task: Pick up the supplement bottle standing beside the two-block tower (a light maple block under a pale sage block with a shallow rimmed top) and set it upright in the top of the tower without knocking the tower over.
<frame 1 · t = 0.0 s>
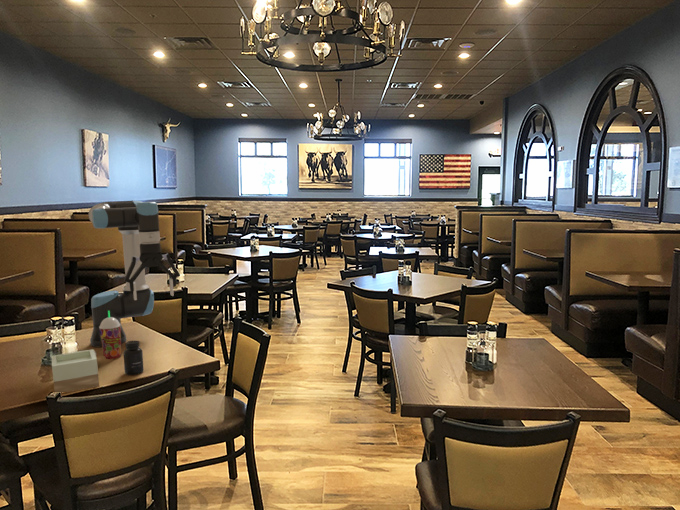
hand: (154, 297, 201), 28 cm above the table, tool pointing down, fingers open, 13 cm apart
supplement bottle: (134, 373, 199), on the table
tower base block: (76, 385, 189), on the table, touching tower top block
tower top block: (75, 372, 188), point 5 cm above the table, touching tower base block
ramekin: (82, 367, 207), on the table
smoothie: (112, 357, 218), on the table
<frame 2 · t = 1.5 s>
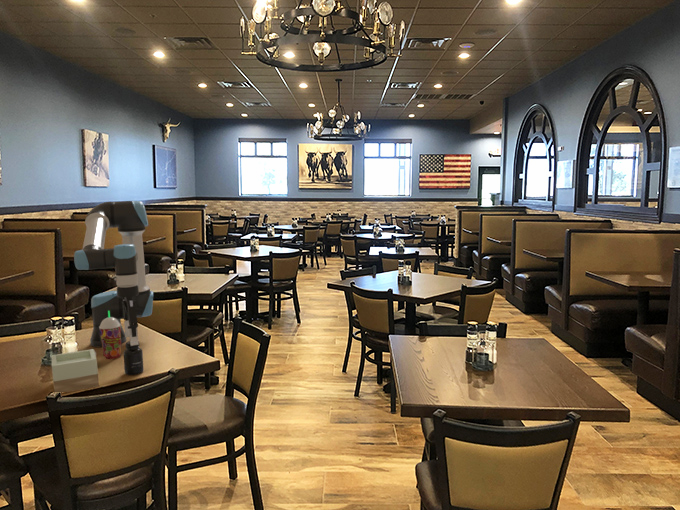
hand: (131, 340, 197), 13 cm above the table, tool pointing down, fingers open, 13 cm apart
nothing on the table moved.
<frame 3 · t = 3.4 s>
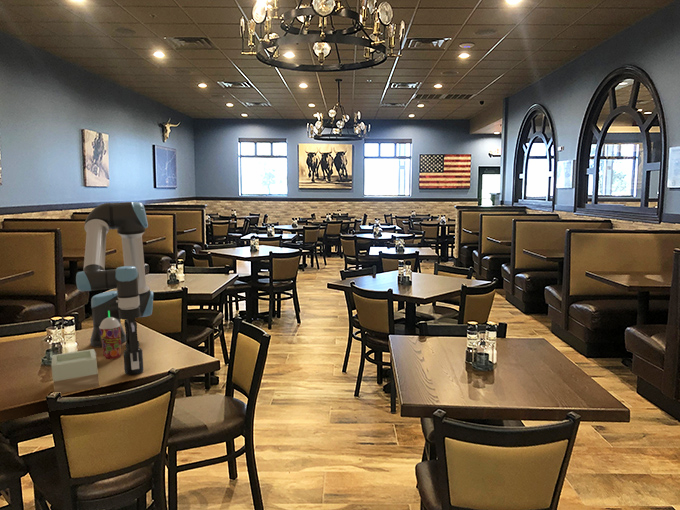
hand: (133, 366, 199), 3 cm above the table, tool pointing down, fingers closed on supplement bottle, 7 cm apart
supplement bottle: (134, 373, 199), on the table, touching gripper
tower base block: (76, 385, 189), on the table
tower top block: (75, 371, 188), point 5 cm above the table
everything else where it was.
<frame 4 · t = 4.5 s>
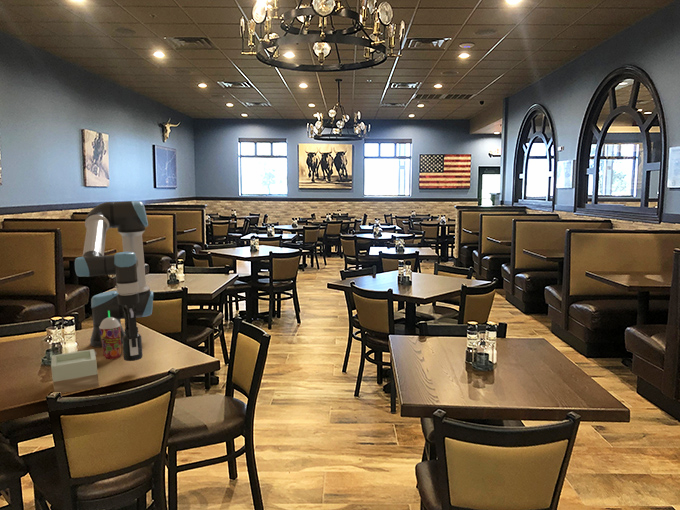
hand: (132, 352, 199), 8 cm above the table, tool pointing down, fingers closed on supplement bottle, 7 cm apart
supplement bottle: (133, 359, 199), point 5 cm above the table, touching gripper
tower base block: (76, 385, 189), on the table, touching tower top block
tower top block: (75, 372, 188), point 5 cm above the table, touching tower base block
everything else where it was.
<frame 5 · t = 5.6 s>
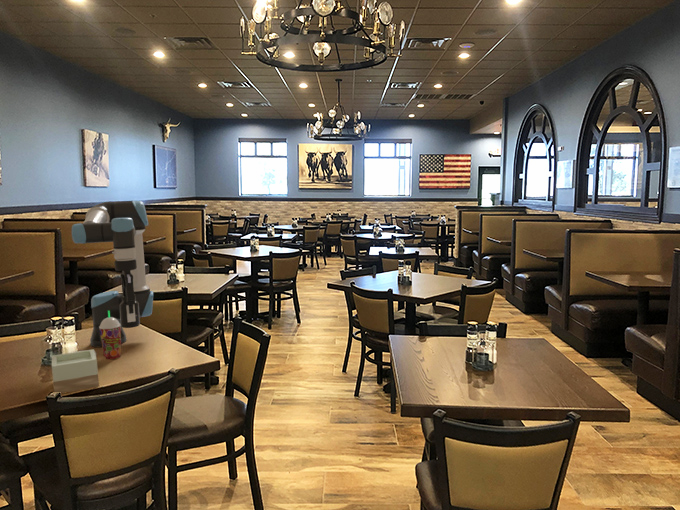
hand: (130, 319, 197), 21 cm above the table, tool pointing down, fingers closed on supplement bottle, 7 cm apart
supplement bottle: (130, 326, 197), point 18 cm above the table, touching gripper
everything else where it was.
when the fingers open (12 cm above the table, at t = 11.8 s): supplement bottle drops 2 cm, resting on tower top block.
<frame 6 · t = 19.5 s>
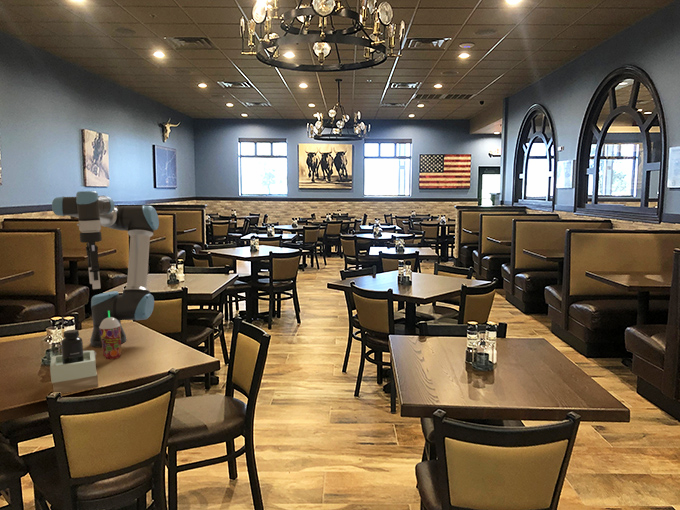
hand: (95, 286, 202), 33 cm above the table, tool pointing down, fingers open, 13 cm apart
supplement bottle: (73, 364, 187), point 8 cm above the table, touching tower top block
tower top block: (74, 373, 187), point 4 cm above the table, touching supplement bottle, tower base block
everything else where it was.
at the end: supplement bottle inside the target area on the tower top block (0.3 cm from its centre), point 3.3 cm above the tower top block's base; tower top block 0.1 cm off-centre on the tower base block, point 5.0 cm above the tower base block's base; supplement bottle tilted 0° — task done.
